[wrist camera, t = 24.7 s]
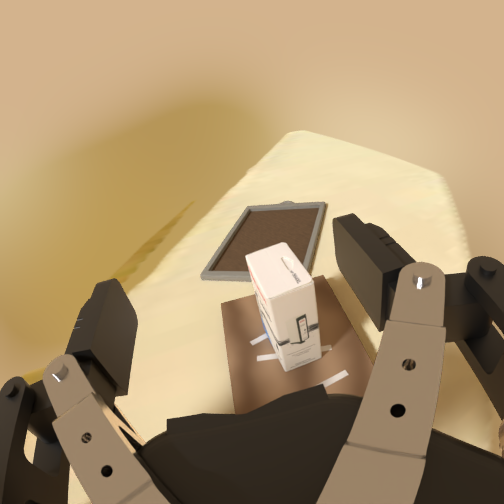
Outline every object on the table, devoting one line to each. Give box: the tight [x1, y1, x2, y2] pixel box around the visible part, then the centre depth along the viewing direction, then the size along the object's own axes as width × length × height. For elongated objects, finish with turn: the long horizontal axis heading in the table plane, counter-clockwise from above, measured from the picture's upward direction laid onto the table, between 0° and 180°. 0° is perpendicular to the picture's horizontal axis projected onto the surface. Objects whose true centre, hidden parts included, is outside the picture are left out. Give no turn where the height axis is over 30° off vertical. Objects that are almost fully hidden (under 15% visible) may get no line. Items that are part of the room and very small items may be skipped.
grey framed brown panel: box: [200, 201, 326, 282], centre depth 65 cm, size 19×2×30 cm
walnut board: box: [221, 275, 373, 414], centre depth 37 cm, size 16×26×2 cm, turn 9°
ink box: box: [245, 242, 322, 372], centre depth 35 cm, size 9×5×12 cm, turn 16°
